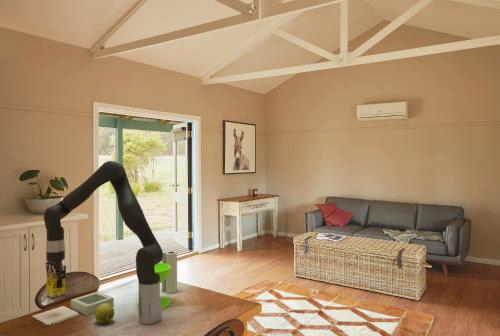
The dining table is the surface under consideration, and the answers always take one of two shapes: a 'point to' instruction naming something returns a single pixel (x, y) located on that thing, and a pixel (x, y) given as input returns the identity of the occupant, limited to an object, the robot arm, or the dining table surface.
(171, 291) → the paper towel roll
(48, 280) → the supplement box
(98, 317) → the apple
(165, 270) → the wineglass
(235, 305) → the dining table surface
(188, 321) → the dining table surface
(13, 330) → the dining table surface
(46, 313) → the mat
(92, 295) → the frame
